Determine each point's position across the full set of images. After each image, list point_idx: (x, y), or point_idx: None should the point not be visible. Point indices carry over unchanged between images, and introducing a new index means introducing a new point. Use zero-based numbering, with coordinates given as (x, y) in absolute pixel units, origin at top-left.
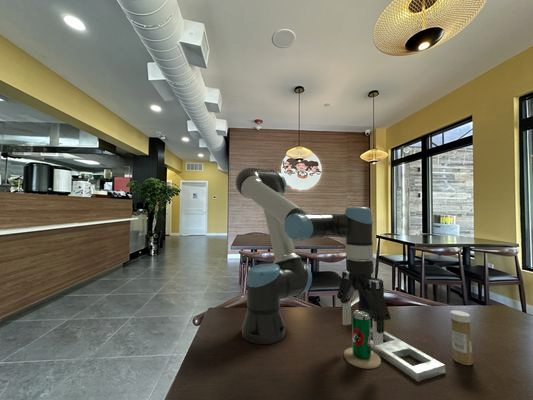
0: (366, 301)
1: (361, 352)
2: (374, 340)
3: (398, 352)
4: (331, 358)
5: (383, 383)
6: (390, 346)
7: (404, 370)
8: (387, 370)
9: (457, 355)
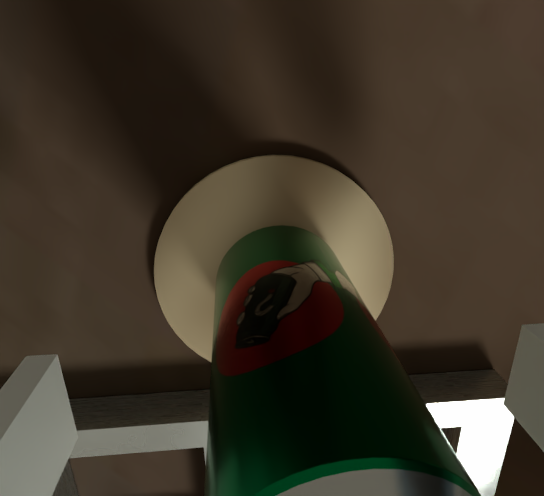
0: None
1: (228, 264)
2: (9, 388)
3: None
4: (353, 57)
5: (4, 225)
6: None
7: (77, 405)
8: (120, 330)
9: None
